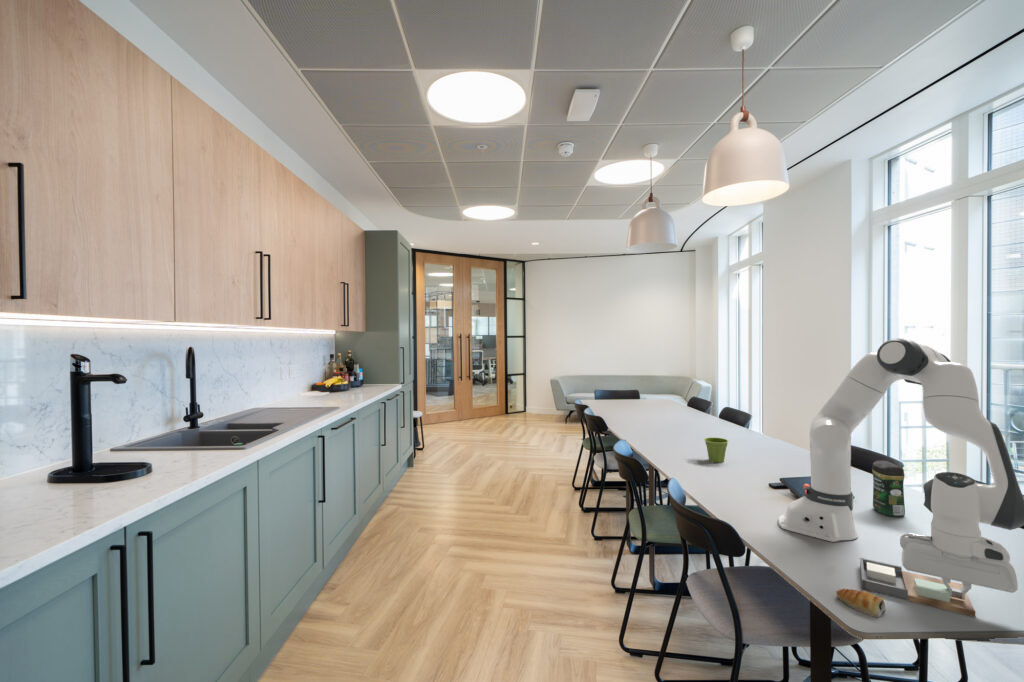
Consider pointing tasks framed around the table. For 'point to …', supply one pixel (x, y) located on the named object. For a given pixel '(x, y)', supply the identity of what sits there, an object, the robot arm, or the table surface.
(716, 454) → the plant pot
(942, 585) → the tile sage
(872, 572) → the tile cream
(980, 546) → the robot arm
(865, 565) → the tray
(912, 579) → the board
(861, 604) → the pastry
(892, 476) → the coffee jar
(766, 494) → the table surface
